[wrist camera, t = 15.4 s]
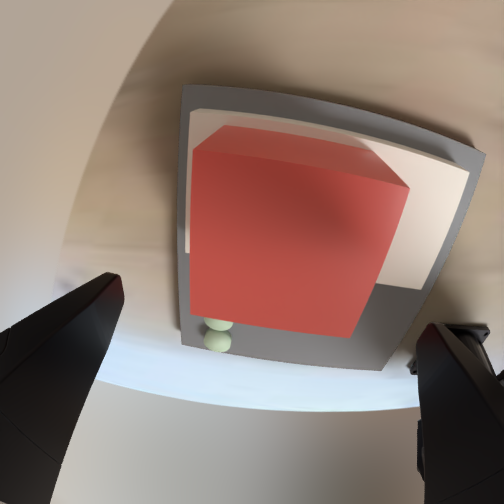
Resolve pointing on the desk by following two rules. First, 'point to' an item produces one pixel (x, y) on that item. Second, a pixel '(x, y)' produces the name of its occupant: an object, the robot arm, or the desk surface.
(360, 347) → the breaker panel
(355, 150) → the red block
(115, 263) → the desk surface
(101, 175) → the desk surface
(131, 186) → the desk surface
